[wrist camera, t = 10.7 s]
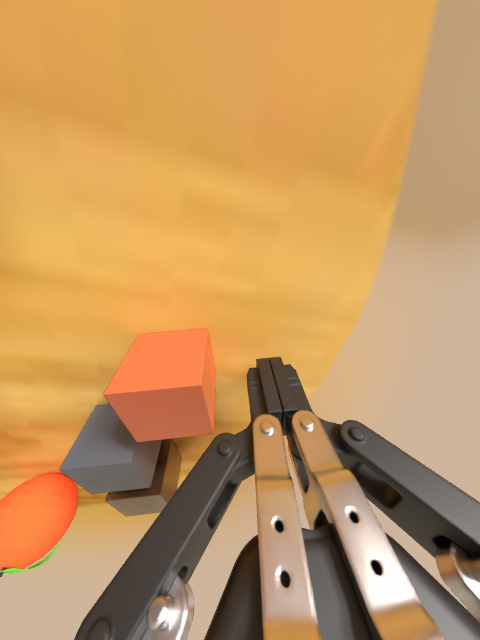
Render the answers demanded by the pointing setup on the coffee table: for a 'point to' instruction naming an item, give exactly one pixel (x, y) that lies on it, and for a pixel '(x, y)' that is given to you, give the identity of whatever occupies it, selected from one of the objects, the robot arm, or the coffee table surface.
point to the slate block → (110, 455)
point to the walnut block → (160, 487)
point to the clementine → (35, 520)
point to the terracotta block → (166, 386)
